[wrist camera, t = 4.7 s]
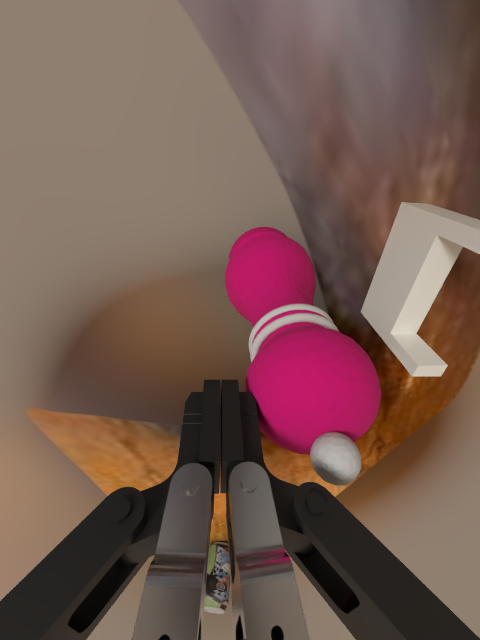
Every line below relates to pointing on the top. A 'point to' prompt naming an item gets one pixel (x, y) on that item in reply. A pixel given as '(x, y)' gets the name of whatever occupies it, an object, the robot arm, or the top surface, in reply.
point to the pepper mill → (300, 357)
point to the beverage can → (217, 578)
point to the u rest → (416, 279)
